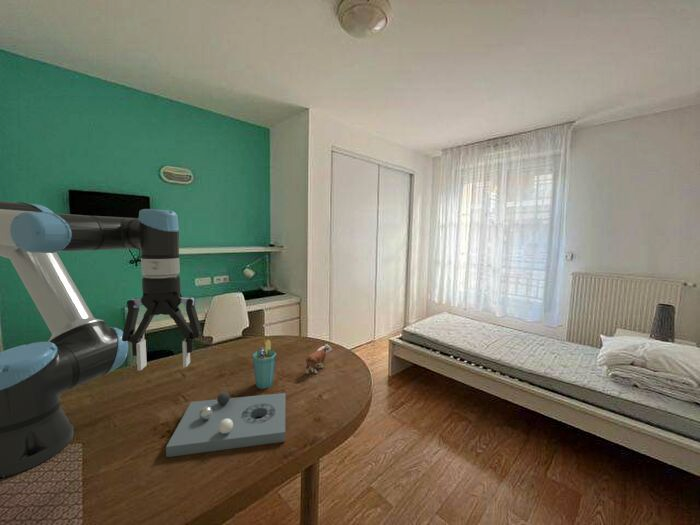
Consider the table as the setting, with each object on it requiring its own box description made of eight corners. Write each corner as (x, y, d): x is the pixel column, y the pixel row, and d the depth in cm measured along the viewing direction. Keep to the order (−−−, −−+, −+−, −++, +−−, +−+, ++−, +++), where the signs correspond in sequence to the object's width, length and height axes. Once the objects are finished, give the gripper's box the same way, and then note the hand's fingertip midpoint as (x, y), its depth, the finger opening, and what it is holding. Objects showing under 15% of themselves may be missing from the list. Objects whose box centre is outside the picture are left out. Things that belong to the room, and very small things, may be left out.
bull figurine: (333, 363, 110) (333, 343, 109) (311, 377, 98) (311, 355, 98) (324, 360, 112) (324, 341, 111) (301, 374, 101) (302, 352, 100)
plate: (166, 457, 62) (166, 446, 62) (191, 410, 79) (191, 401, 79) (285, 441, 68) (285, 432, 68) (285, 400, 85) (285, 392, 84)
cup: (274, 397, 86) (274, 350, 85) (248, 399, 85) (247, 352, 83) (277, 374, 100) (277, 334, 98) (254, 376, 98) (254, 335, 97)
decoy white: (217, 437, 65) (217, 425, 65) (220, 428, 68) (220, 416, 68) (231, 436, 66) (231, 423, 66) (234, 426, 69) (234, 414, 69)
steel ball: (197, 423, 70) (196, 411, 69) (201, 415, 73) (200, 404, 73) (211, 422, 70) (210, 410, 70) (214, 414, 74) (214, 402, 73)
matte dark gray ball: (216, 407, 76) (215, 396, 76) (218, 400, 79) (218, 390, 79) (228, 406, 77) (228, 395, 77) (230, 399, 80) (230, 389, 80)
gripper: (97, 278, 60) (103, 377, 62) (206, 278, 65) (208, 370, 67) (117, 273, 67) (122, 362, 69) (215, 273, 72) (216, 356, 74)
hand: (164, 366), depth 68 cm, fingers open, 9 cm apart
